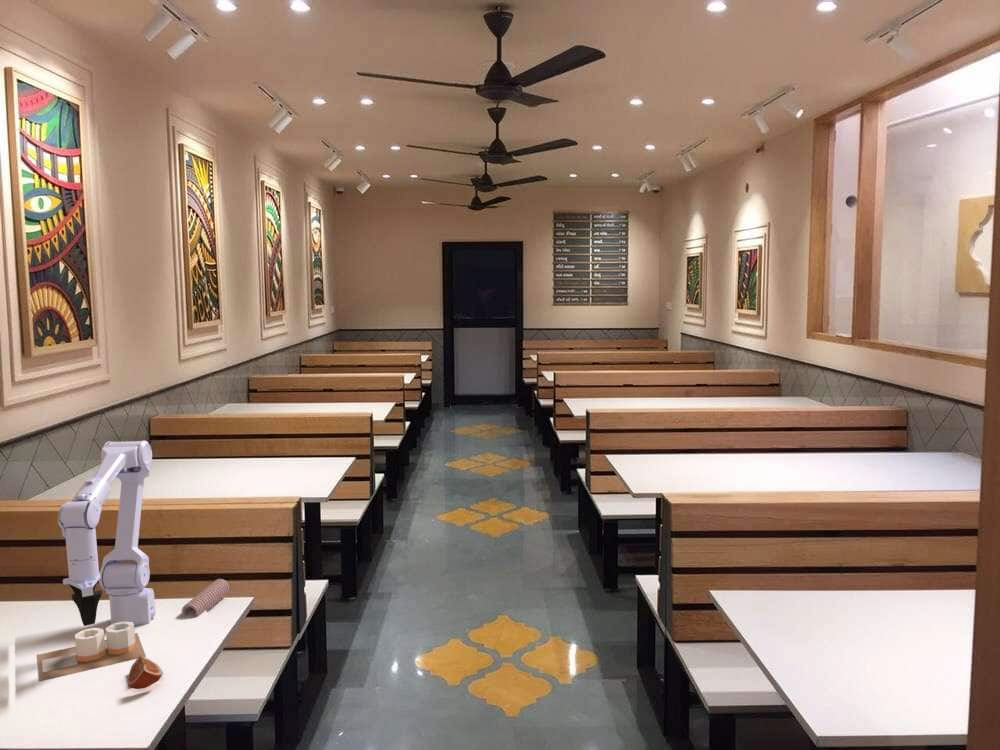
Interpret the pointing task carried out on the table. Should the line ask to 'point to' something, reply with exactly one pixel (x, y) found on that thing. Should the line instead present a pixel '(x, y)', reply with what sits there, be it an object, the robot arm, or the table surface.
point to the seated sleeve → (120, 638)
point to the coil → (207, 597)
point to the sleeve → (90, 644)
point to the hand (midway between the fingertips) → (87, 618)
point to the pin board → (67, 661)
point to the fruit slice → (143, 673)
